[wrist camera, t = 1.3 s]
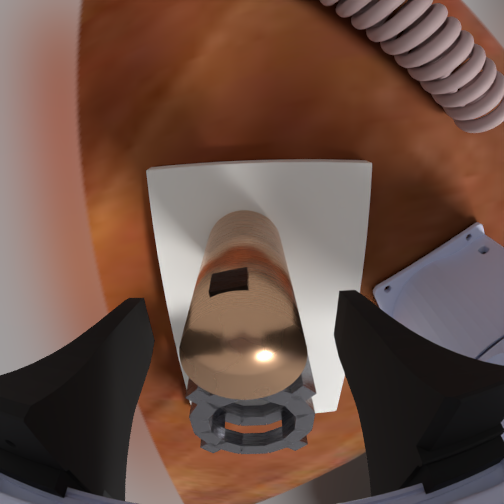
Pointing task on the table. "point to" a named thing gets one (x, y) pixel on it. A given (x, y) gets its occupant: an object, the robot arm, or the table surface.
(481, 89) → the coil
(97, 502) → the robot arm
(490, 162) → the table surface
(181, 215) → the base board
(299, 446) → the collar stand
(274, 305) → the tube
